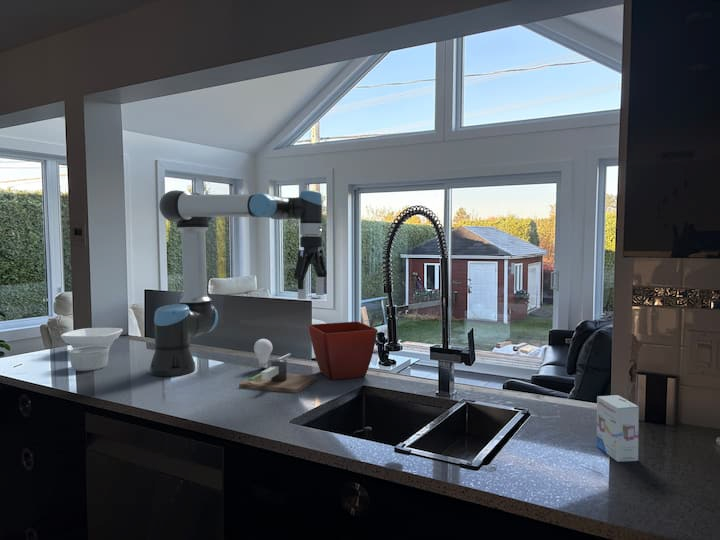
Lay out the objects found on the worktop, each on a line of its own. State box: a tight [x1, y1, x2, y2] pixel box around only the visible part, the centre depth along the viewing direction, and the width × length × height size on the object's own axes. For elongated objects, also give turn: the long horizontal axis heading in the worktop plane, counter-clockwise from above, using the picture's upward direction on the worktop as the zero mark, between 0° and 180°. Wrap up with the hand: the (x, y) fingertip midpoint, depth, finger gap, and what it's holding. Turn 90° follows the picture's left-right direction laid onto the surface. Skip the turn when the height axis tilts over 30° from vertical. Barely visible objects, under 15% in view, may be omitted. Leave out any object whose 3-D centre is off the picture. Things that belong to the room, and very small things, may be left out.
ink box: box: [596, 394, 640, 463], centre depth 111 cm, size 9×5×12 cm, turn 5°
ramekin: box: [68, 346, 110, 372], centre depth 188 cm, size 13×13×7 cm
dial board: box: [238, 371, 318, 394], centre depth 167 cm, size 20×17×2 cm
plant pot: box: [308, 321, 378, 381], centre depth 178 cm, size 19×19×17 cm
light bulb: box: [253, 338, 273, 370], centre depth 186 cm, size 7×7×11 cm
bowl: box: [60, 327, 123, 349], centre depth 214 cm, size 21×21×9 cm
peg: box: [261, 353, 292, 381], centre depth 166 cm, size 18×5×7 cm, turn 163°
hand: (311, 297), depth 178 cm, fingers open, 13 cm apart
